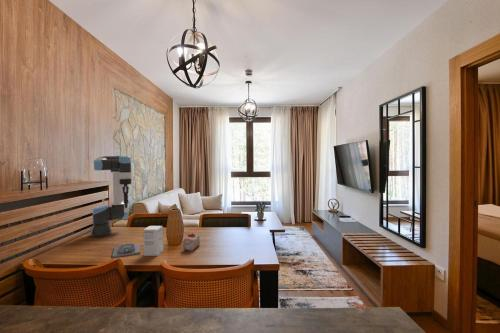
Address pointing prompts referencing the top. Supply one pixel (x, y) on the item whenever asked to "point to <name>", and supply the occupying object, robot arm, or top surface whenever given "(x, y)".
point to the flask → (126, 248)
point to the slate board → (117, 254)
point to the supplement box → (153, 240)
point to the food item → (191, 242)
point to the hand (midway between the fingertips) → (126, 212)
